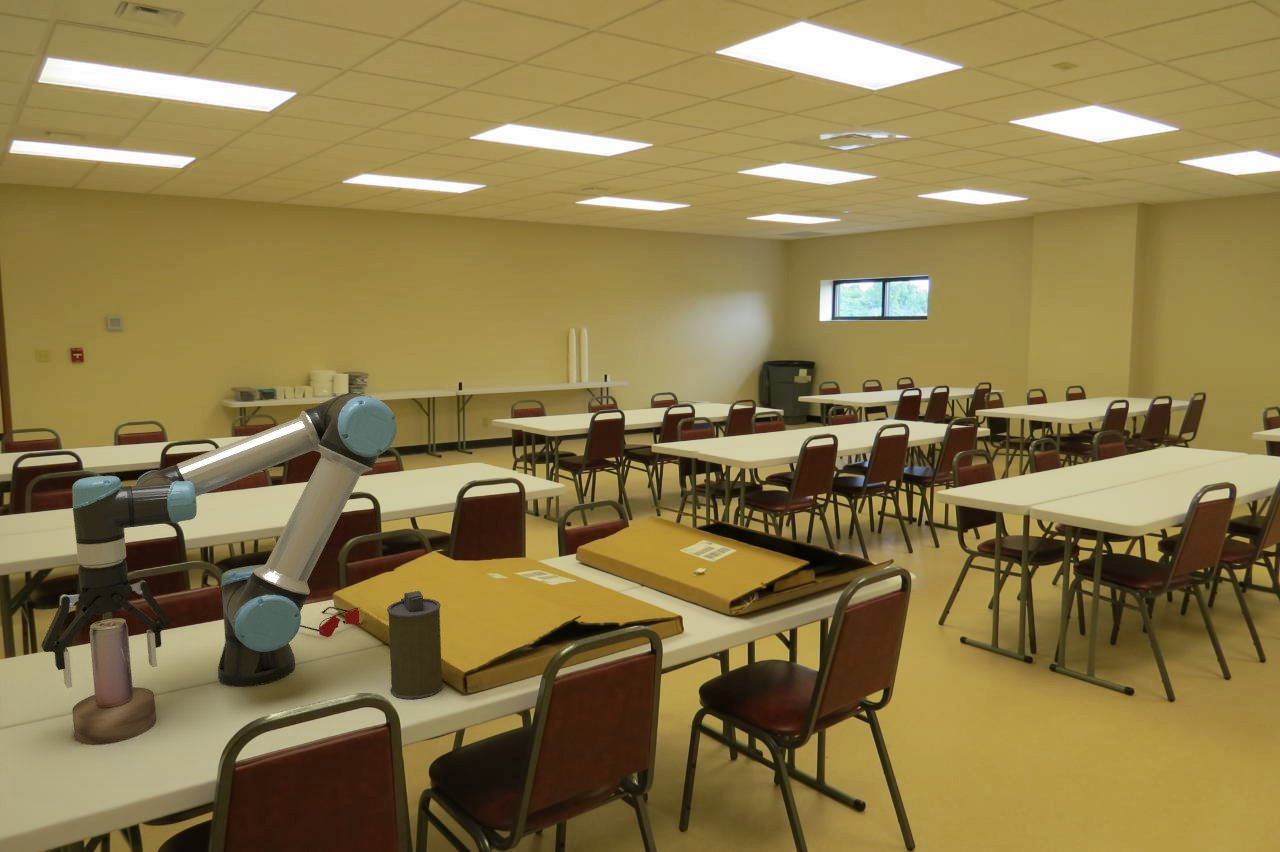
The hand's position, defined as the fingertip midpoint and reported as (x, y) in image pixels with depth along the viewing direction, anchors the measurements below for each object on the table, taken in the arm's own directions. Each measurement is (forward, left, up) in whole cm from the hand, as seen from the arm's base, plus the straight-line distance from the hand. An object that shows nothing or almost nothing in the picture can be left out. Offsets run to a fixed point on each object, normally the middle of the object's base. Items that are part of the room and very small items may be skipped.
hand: (111, 675), depth 161 cm
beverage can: (0, 0, -5) cm, 5 cm away
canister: (-49, -23, -10) cm, 55 cm away
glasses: (-12, -56, -11) cm, 58 cm away
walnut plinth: (0, 0, -10) cm, 10 cm away
